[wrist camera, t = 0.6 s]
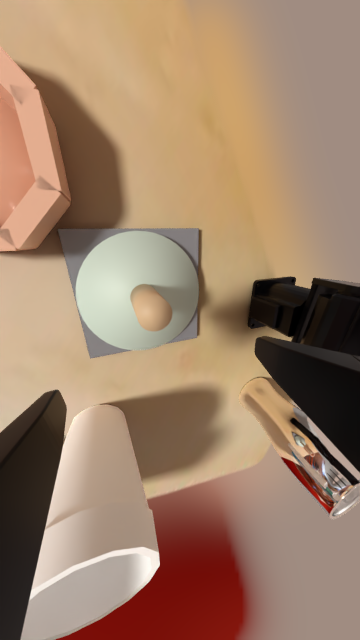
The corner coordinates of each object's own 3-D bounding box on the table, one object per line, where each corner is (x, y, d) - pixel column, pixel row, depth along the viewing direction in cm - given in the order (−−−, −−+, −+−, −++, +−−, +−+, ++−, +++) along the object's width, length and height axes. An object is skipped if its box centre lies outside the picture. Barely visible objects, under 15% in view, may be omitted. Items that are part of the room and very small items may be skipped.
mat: (196, 228, 18) (198, 228, 18) (194, 335, 23) (196, 337, 23) (59, 229, 15) (57, 228, 14) (90, 355, 20) (90, 358, 19)
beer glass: (238, 380, 29) (343, 492, 16) (273, 370, 31) (391, 462, 18) (233, 412, 32) (320, 530, 19) (266, 401, 34) (364, 501, 21)
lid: (196, 230, 18) (230, 226, 13) (195, 336, 23) (220, 363, 17) (61, 231, 14) (35, 225, 9) (92, 356, 19) (85, 397, 14)
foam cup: (34, 426, 20) (-58, 654, 9) (109, 380, 21) (109, 533, 10) (89, 461, 25) (73, 642, 14) (149, 422, 26) (180, 560, 15)
